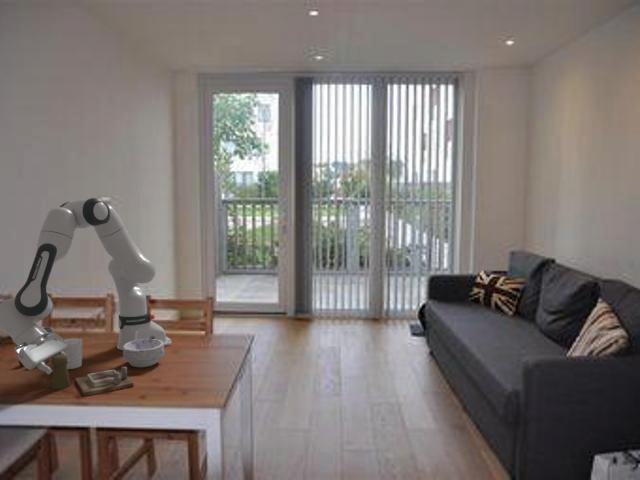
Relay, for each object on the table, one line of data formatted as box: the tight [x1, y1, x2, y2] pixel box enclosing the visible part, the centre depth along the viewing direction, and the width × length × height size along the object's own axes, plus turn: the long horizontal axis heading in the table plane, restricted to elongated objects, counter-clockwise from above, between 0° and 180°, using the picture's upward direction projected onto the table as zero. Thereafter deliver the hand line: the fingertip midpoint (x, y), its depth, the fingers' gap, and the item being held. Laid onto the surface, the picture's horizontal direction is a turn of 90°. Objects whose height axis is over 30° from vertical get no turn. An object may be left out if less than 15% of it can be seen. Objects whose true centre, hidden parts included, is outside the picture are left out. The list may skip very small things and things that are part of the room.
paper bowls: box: [122, 339, 165, 368], centre depth 217 cm, size 15×15×8 cm
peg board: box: [75, 366, 135, 397], centre depth 196 cm, size 16×16×5 cm
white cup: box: [63, 337, 83, 370], centre depth 214 cm, size 8×8×10 cm
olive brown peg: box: [51, 355, 71, 390], centre depth 193 cm, size 6×6×11 cm
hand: (59, 367), depth 193 cm, fingers open, 8 cm apart
